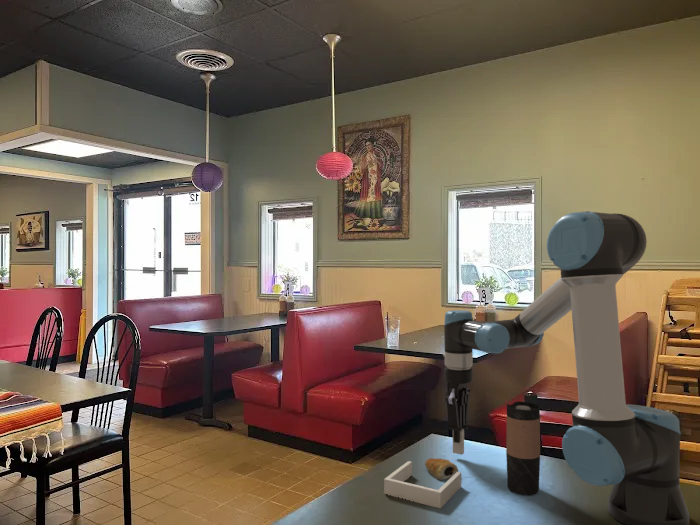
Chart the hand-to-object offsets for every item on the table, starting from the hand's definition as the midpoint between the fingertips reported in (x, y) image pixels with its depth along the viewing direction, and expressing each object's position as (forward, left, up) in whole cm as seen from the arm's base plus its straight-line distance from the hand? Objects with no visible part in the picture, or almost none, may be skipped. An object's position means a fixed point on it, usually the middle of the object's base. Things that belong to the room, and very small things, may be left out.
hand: (458, 452), depth 148 cm
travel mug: (-20, +10, -2) cm, 23 cm away
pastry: (+1, +12, -2) cm, 12 cm away
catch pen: (0, +23, -2) cm, 24 cm away
